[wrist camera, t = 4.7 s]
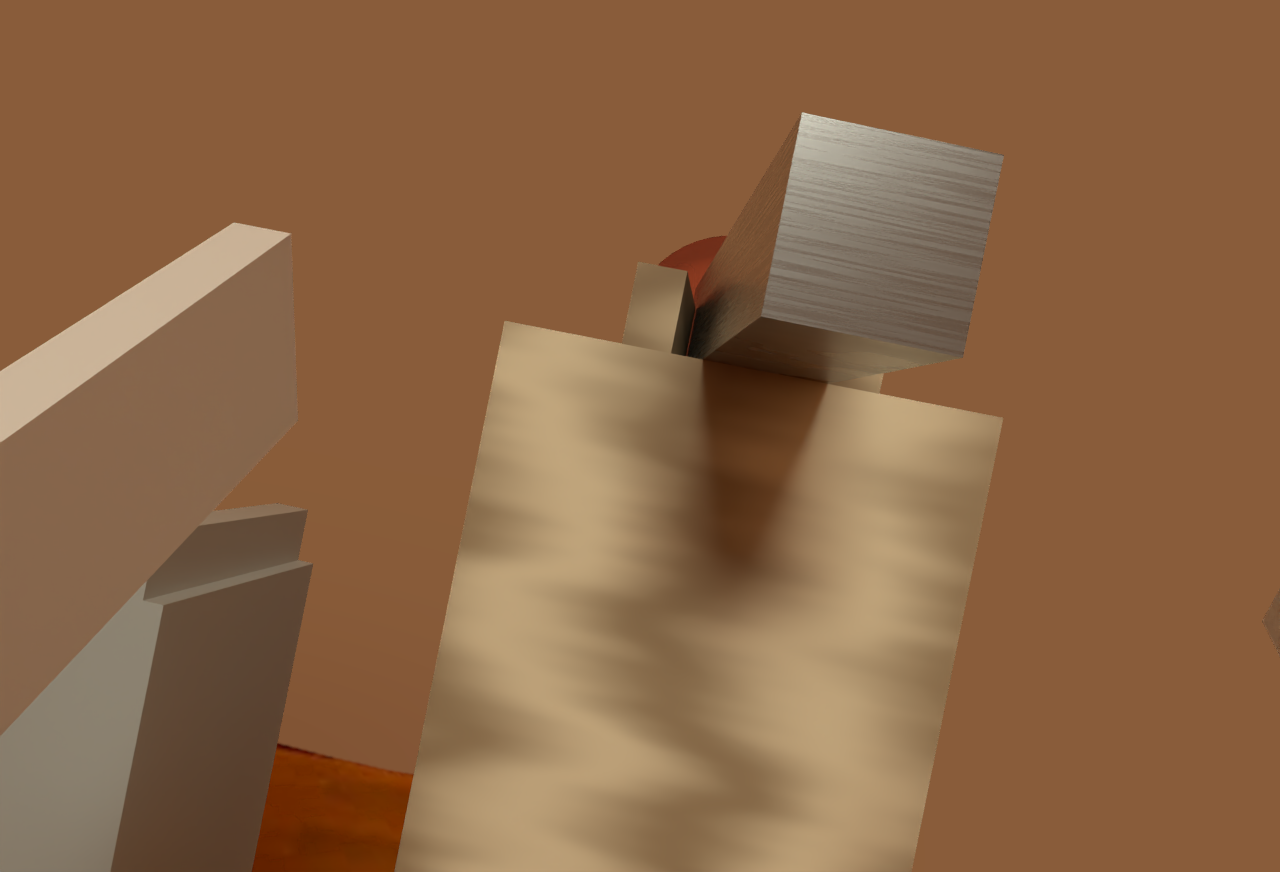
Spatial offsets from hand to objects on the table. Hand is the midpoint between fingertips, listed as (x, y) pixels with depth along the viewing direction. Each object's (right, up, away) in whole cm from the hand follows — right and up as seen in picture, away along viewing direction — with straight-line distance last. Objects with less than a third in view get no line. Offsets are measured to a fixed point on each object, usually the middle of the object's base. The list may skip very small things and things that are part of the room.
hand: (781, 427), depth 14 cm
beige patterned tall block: (-5, -28, +16) cm, 32 cm away
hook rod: (+1, -1, +13) cm, 13 cm away
